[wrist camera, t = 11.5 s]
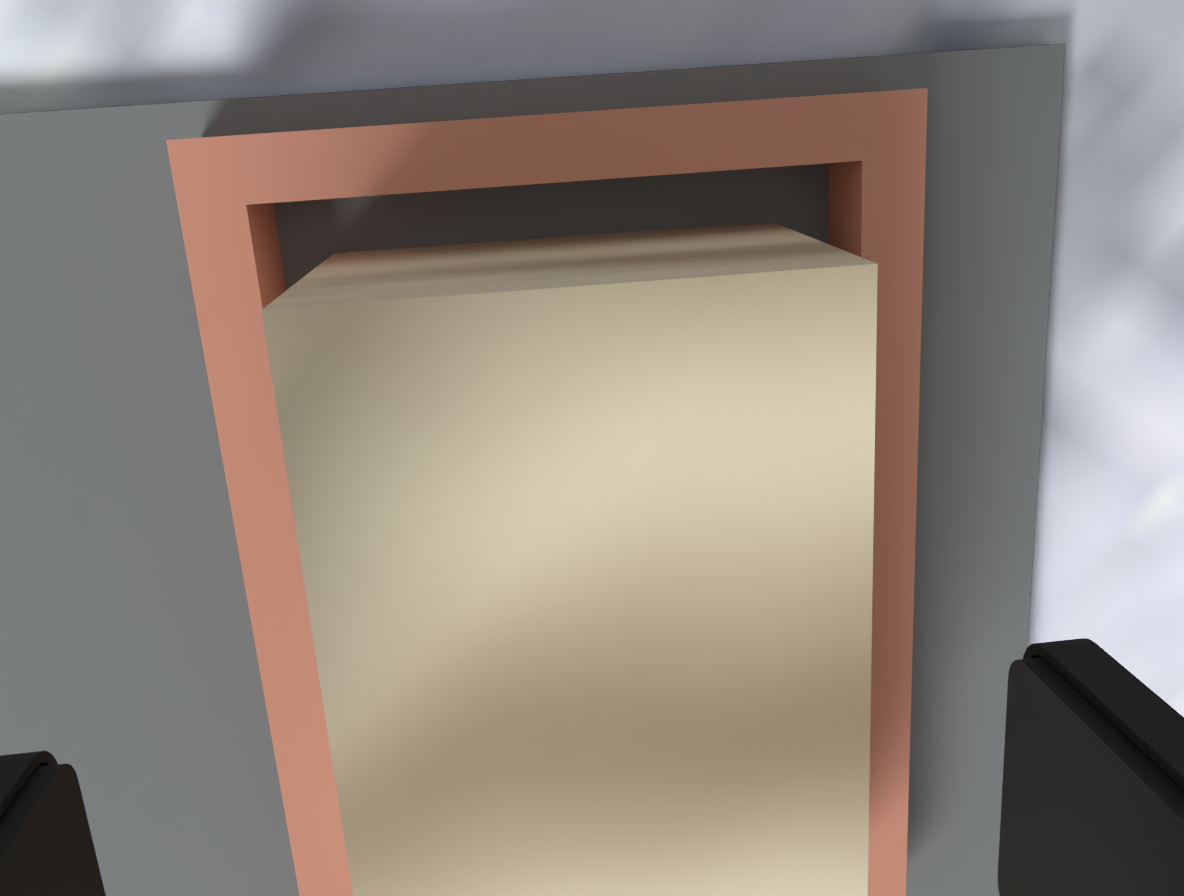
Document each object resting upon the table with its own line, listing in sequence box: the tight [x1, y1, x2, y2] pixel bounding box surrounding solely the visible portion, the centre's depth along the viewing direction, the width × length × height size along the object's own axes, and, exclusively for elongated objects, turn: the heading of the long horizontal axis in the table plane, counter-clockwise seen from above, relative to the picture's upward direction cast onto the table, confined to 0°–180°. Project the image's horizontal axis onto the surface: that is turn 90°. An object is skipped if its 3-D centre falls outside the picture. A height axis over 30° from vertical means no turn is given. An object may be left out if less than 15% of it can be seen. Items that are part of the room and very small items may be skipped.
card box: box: [261, 221, 878, 896], centre depth 14 cm, size 10×6×4 cm, turn 4°
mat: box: [0, 44, 1065, 896], centre depth 16 cm, size 25×20×2 cm
